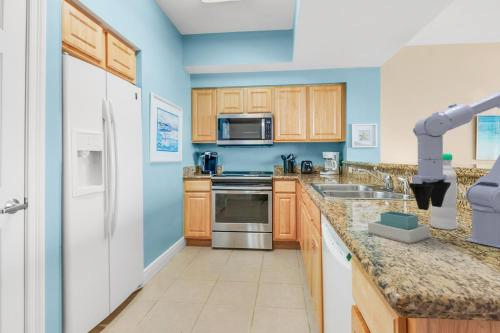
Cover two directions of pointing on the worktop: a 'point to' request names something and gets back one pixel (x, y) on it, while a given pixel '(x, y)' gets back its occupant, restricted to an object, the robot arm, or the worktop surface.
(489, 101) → the robot arm
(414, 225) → the teal crate
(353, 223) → the worktop surface
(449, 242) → the worktop surface
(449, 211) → the water bottle
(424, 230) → the white crate
